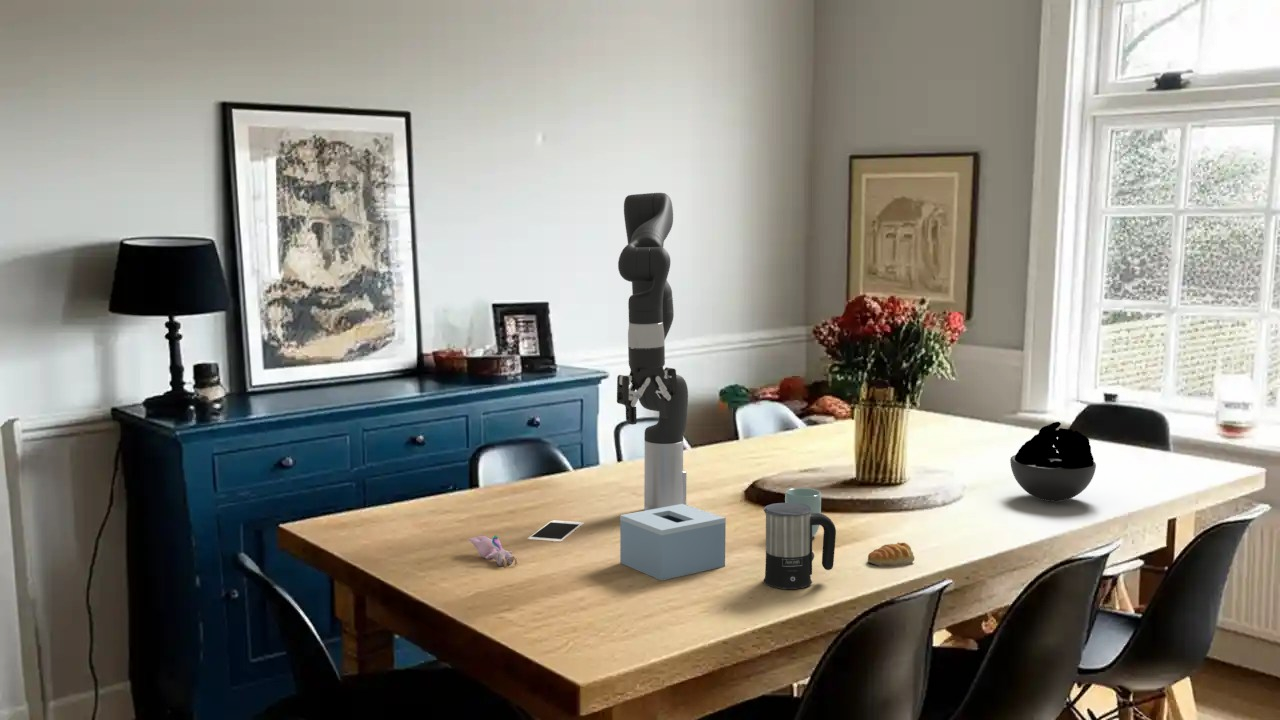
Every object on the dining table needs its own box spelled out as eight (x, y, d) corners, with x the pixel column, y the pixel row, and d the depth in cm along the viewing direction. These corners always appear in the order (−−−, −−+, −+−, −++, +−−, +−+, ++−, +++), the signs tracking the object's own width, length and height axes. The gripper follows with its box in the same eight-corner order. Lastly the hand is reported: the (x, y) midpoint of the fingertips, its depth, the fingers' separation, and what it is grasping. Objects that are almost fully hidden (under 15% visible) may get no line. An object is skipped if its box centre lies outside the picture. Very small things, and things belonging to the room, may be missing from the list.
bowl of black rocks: (1067, 515, 277) (1071, 436, 275) (992, 499, 292) (995, 425, 289) (1109, 501, 290) (1113, 426, 288) (1035, 487, 305) (1038, 415, 303)
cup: (823, 533, 261) (824, 489, 259) (816, 542, 253) (817, 497, 252) (788, 530, 263) (789, 486, 262) (781, 539, 256) (782, 494, 255)
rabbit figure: (523, 571, 238) (484, 543, 249) (525, 544, 236) (486, 517, 247) (497, 577, 234) (458, 548, 245) (499, 549, 232) (460, 522, 243)
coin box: (682, 549, 248) (682, 503, 246) (725, 566, 236) (725, 517, 235) (620, 562, 238) (620, 515, 237) (661, 580, 227) (661, 530, 226)
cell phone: (584, 525, 269) (584, 522, 269) (560, 544, 253) (560, 541, 253) (552, 522, 271) (552, 519, 271) (526, 541, 256) (526, 538, 255)
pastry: (880, 570, 235) (880, 551, 234) (859, 561, 241) (859, 543, 240) (917, 564, 239) (917, 545, 238) (895, 555, 245) (896, 538, 244)
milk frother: (777, 592, 220) (778, 516, 218) (738, 569, 235) (739, 497, 233) (842, 583, 226) (844, 508, 224) (800, 561, 240) (802, 490, 238)
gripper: (661, 338, 249) (663, 413, 252) (607, 345, 240) (610, 423, 243) (684, 342, 243) (685, 418, 246) (630, 349, 235) (632, 428, 237)
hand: (648, 420), depth 244 cm, fingers open, 8 cm apart
